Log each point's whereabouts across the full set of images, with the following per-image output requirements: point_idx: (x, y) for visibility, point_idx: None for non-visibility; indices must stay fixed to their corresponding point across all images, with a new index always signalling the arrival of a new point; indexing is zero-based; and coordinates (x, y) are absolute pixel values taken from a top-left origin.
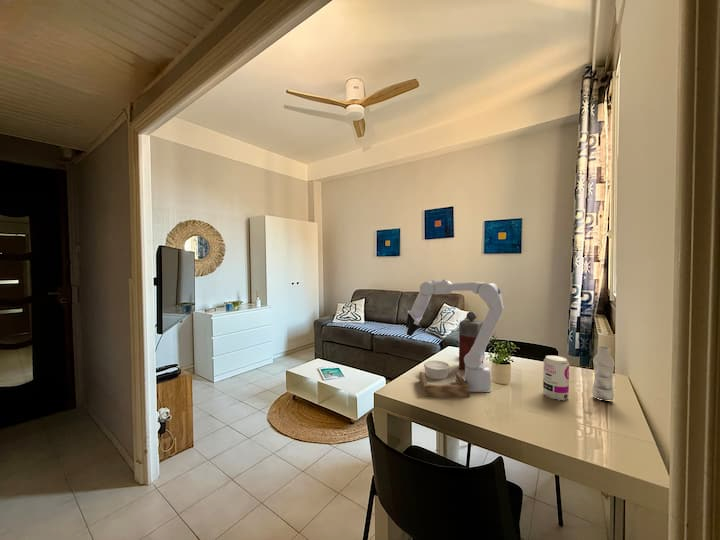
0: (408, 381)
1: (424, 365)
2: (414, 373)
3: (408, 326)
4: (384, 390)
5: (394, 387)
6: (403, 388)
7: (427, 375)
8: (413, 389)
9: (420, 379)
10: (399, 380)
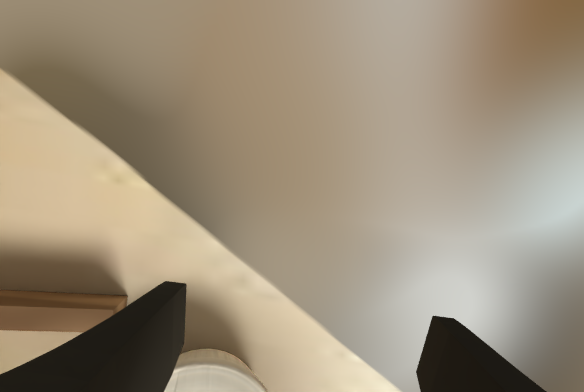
0: (126, 232)
1: (198, 361)
2: (240, 286)
3: (435, 366)
4: (7, 79)
5: (45, 140)
6: (26, 187)
7: (180, 354)
8: (7, 239)
9: (79, 299)
10: (144, 185)
